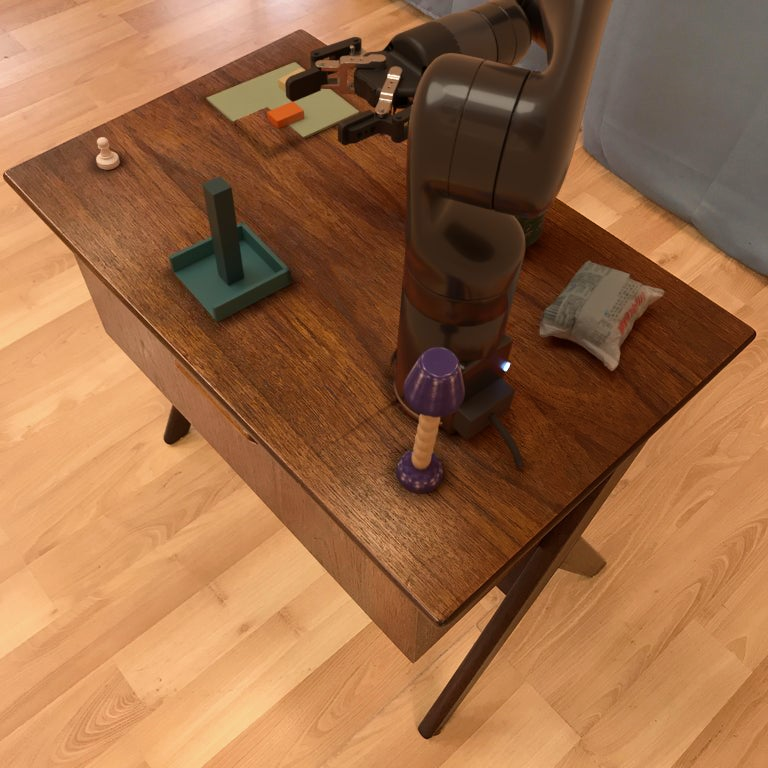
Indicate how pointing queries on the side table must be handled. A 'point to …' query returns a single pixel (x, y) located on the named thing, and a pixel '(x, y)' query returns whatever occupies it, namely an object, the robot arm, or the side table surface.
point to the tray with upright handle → (228, 260)
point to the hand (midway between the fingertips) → (313, 112)
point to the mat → (283, 102)
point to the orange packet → (285, 115)
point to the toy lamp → (429, 415)
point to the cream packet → (282, 80)
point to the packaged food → (598, 310)
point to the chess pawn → (106, 155)
